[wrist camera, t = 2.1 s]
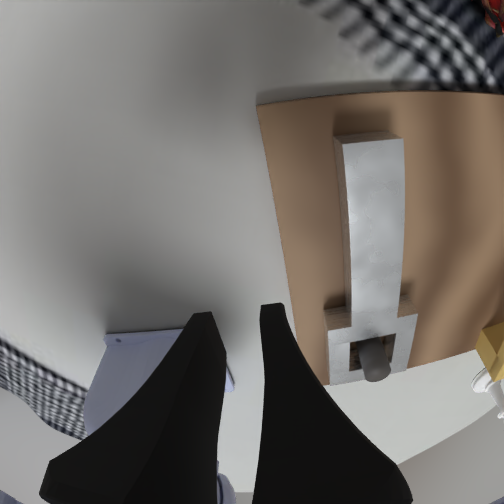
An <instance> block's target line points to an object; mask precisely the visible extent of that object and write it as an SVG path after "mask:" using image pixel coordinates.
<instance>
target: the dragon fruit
mask: <svg viewBox="0 0 504 504" xmlns="http://www.w3.org/2000/svg"><path fill="white" fill-rule="evenodd" d="M471 1H472V0H471ZM481 1H482V4H483V6H484V9H485V12H486V14H485V21H486V23H487V24H488V25H490V26H491V27H493V28H494V29H495V31H496V37H500V36H501V35H503V34H504V0H481Z"/></svg>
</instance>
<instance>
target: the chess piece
mask: <svg viewBox="0 0 504 504" xmlns="http://www.w3.org/2000/svg"><path fill="white" fill-rule="evenodd" d="M500 383H501V380H498V381H496V382H493V381H492V379H491V377H490V375H489V373H488V371H487V369H486V368H485V369H484V370H482V371H481V372H480V373H479V374H478V375H477V376H476V377H475V378H474V380H473V381H472V384H471V387H472V389H473V390H474V392H476V393H481V392H484V391H485V392H489V394H490V395H491V396H492V398H493V399H494V401H495V403H496V404H497V406H498V407H499V409H500V411H501V412H500V413H499V414H498V416H497V417H499V418H504V395H503V392H502V389H501V386H500Z"/></svg>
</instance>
